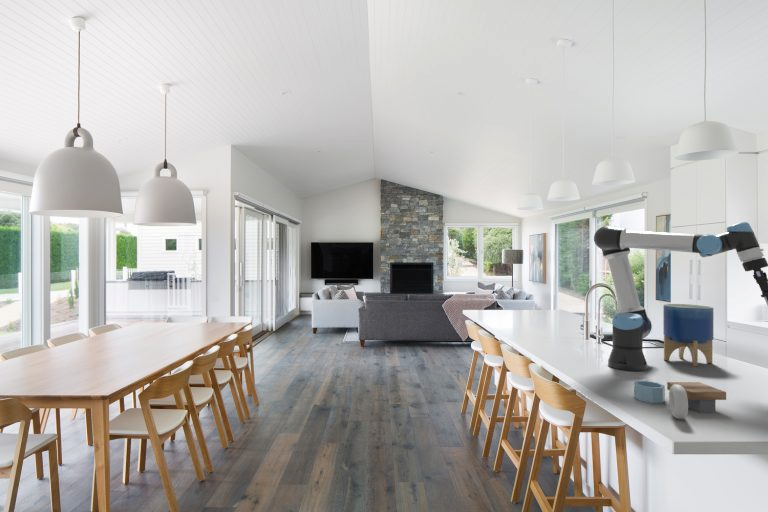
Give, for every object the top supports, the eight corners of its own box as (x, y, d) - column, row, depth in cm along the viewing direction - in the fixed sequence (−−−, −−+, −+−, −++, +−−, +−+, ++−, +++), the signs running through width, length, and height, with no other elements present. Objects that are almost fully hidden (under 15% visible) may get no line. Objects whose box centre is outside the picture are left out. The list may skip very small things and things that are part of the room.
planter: (721, 368, 191) (721, 308, 191) (671, 365, 197) (671, 307, 197) (703, 359, 209) (703, 304, 210) (657, 356, 215) (658, 303, 215)
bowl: (629, 395, 151) (629, 380, 152) (653, 395, 152) (653, 380, 152) (645, 403, 143) (645, 387, 143) (669, 403, 143) (669, 387, 143)
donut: (667, 412, 135) (667, 379, 135) (680, 413, 133) (680, 381, 133) (675, 423, 125) (675, 388, 125) (689, 425, 124) (690, 390, 124)
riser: (677, 401, 145) (677, 389, 145) (691, 401, 145) (691, 389, 145) (699, 412, 135) (699, 399, 135) (715, 412, 135) (715, 399, 135)
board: (667, 389, 145) (667, 382, 145) (699, 389, 145) (699, 382, 145) (691, 399, 134) (691, 392, 134) (726, 399, 134) (726, 392, 134)
